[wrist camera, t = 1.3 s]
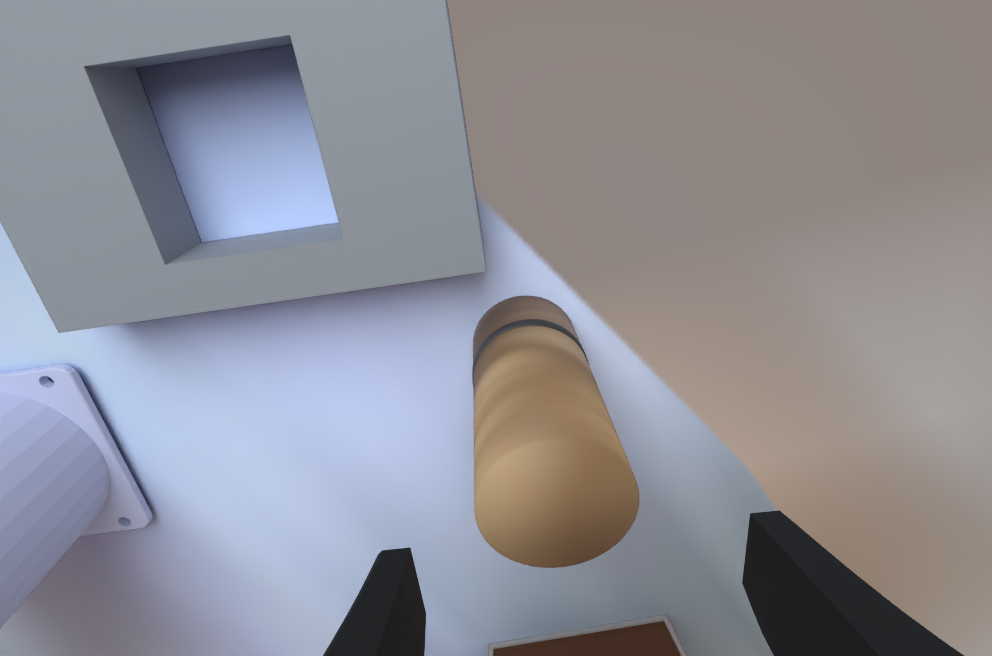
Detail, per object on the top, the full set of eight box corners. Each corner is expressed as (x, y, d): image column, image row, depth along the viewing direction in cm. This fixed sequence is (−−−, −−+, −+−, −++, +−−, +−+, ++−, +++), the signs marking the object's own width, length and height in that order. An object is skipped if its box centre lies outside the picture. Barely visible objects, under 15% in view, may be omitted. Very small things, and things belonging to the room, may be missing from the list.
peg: (480, 394, 22) (485, 578, 14) (464, 303, 21) (460, 451, 12) (579, 380, 22) (642, 557, 14) (571, 287, 21) (638, 427, 12)
